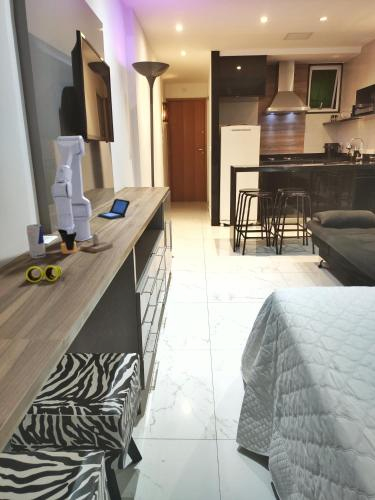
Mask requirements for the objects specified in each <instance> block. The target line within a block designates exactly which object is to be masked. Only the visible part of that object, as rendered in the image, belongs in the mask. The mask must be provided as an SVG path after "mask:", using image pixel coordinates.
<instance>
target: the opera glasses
mask: <svg viewBox="0 0 375 500" xmlns="http://www.w3.org/2000/svg"><path fill="white" fill-rule="evenodd" d="M35 269H36V270H39V271H40V274H39V276H34V275H33V271H34V270H35ZM53 270H54V271H55V274H54V273H53ZM62 273H63V271H62V268H61V267H60V266H56V265H47V266H46V267H45V269H44V270H42V269H41V268H40V267H38V266H37V265H36V266H35V265H34V266H30V267H29V268H27V270H26V271H25V277H26V279H27V280H28V282H30V283H38V282H40V281H41V280H42V279H43V277H44V278H45V280H47V281H49V282H55V281H57V279H58V278H59V277H60V276H61V275H62Z"/></svg>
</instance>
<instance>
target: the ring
mask: <svg viewBox="0 0 375 500" xmlns="http://www.w3.org/2000/svg"><path fill="white" fill-rule="evenodd" d="M60 250H61V253H62V254H66V255H68V254H74V253H76V252H77V251H78V248H77V242H76V241H74V249H73V250H69V251H68V250H67V247H66V244H65V242H63V241H62V242H61V243H60Z"/></svg>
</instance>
